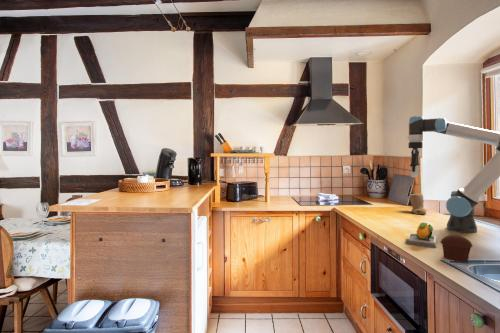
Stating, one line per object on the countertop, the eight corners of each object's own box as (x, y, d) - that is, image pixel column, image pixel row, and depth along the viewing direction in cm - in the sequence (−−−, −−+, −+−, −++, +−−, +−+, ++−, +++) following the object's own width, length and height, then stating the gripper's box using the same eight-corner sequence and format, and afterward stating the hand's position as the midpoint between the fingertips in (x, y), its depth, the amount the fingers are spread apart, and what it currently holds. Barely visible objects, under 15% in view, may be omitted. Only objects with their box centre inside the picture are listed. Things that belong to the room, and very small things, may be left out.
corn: (433, 220, 165) (430, 228, 148) (434, 235, 165) (431, 244, 148) (417, 220, 169) (413, 227, 153) (418, 233, 169) (414, 242, 153)
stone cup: (409, 210, 246) (410, 191, 245) (426, 212, 240) (427, 192, 239) (408, 213, 233) (408, 194, 232) (426, 215, 227) (426, 195, 226)
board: (436, 240, 164) (436, 236, 163) (435, 247, 151) (435, 243, 151) (409, 236, 171) (409, 232, 170) (406, 243, 158) (406, 239, 158)
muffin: (439, 259, 135) (440, 236, 134) (440, 252, 144) (441, 231, 144) (472, 265, 128) (473, 241, 128) (471, 257, 137) (472, 235, 137)
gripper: (410, 142, 201) (409, 174, 202) (406, 141, 180) (405, 177, 181) (423, 142, 197) (422, 175, 198) (421, 141, 176) (420, 178, 177)
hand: (414, 176), depth 190 cm, fingers open, 13 cm apart
